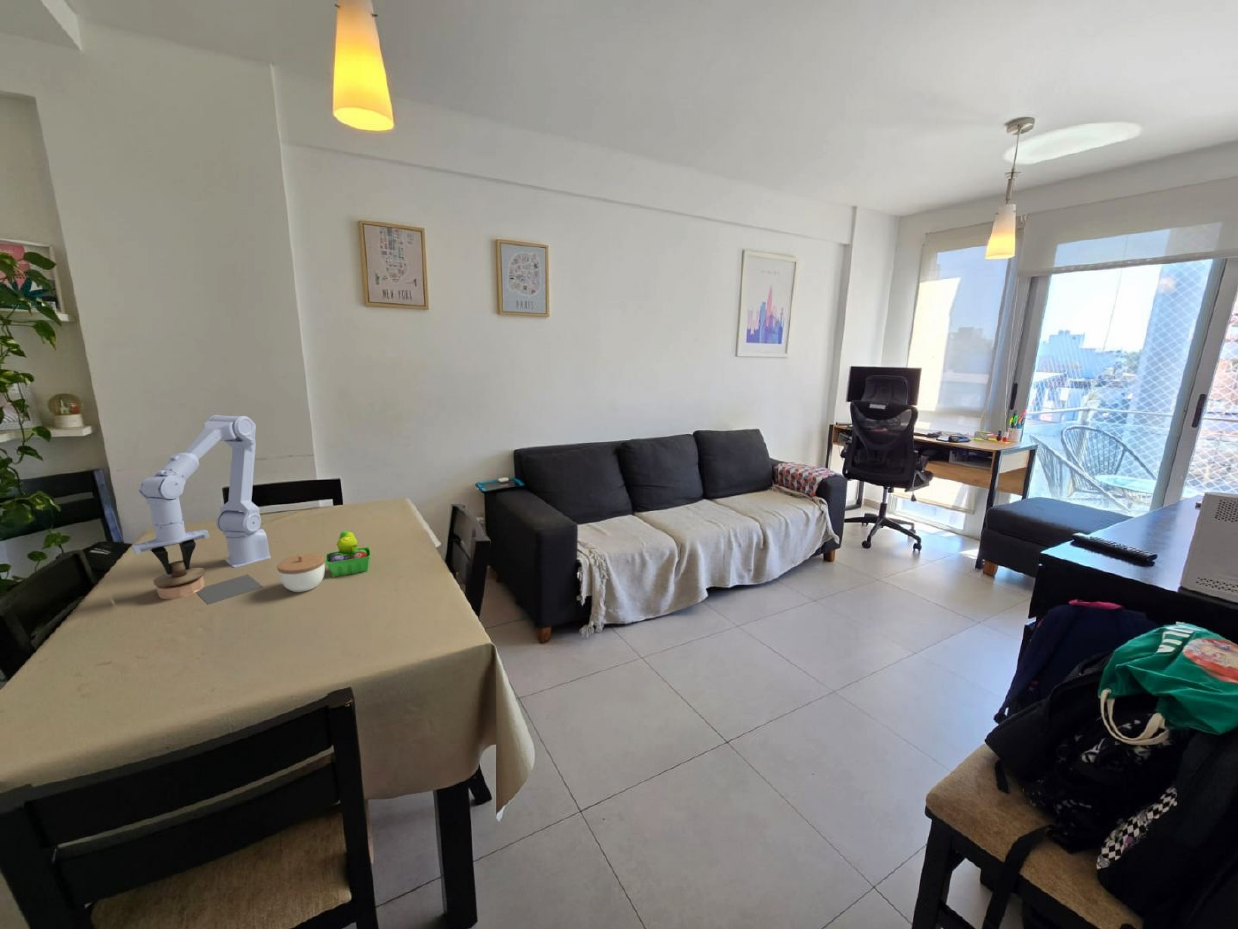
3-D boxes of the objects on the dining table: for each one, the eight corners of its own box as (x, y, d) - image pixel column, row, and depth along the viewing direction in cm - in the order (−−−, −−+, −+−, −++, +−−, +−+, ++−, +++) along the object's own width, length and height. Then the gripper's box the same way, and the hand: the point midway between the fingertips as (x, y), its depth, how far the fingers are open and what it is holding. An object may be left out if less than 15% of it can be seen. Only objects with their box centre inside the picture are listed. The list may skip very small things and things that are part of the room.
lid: (208, 567, 136) (205, 552, 135) (199, 581, 127) (196, 565, 126) (161, 575, 131) (157, 560, 130) (148, 589, 122) (144, 573, 122)
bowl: (198, 580, 136) (196, 570, 136) (208, 590, 131) (206, 579, 130) (155, 592, 129) (153, 581, 129) (164, 603, 124) (161, 592, 123)
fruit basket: (327, 579, 139) (322, 542, 136) (328, 567, 146) (324, 531, 144) (372, 572, 144) (368, 536, 141) (371, 560, 152) (368, 526, 149)
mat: (247, 575, 140) (247, 574, 140) (263, 588, 133) (263, 587, 133) (194, 591, 131) (193, 589, 131) (208, 605, 124) (207, 604, 124)
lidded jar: (336, 583, 136) (332, 552, 134) (297, 601, 127) (292, 567, 125) (311, 576, 141) (307, 545, 139) (272, 592, 131) (266, 559, 129)
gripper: (199, 511, 134) (207, 558, 137) (125, 525, 122) (136, 576, 126) (207, 517, 130) (216, 564, 133) (132, 532, 118) (143, 584, 121)
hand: (178, 570), depth 129 cm, fingers closed on lid, 3 cm apart
